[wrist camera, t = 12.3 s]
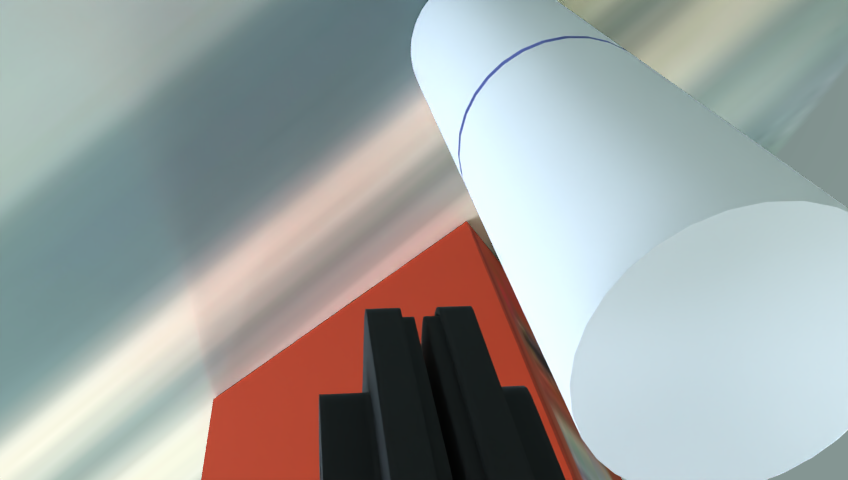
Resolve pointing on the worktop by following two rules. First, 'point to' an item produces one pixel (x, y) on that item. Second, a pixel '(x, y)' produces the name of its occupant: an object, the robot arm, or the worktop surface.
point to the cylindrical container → (645, 245)
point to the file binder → (343, 369)
